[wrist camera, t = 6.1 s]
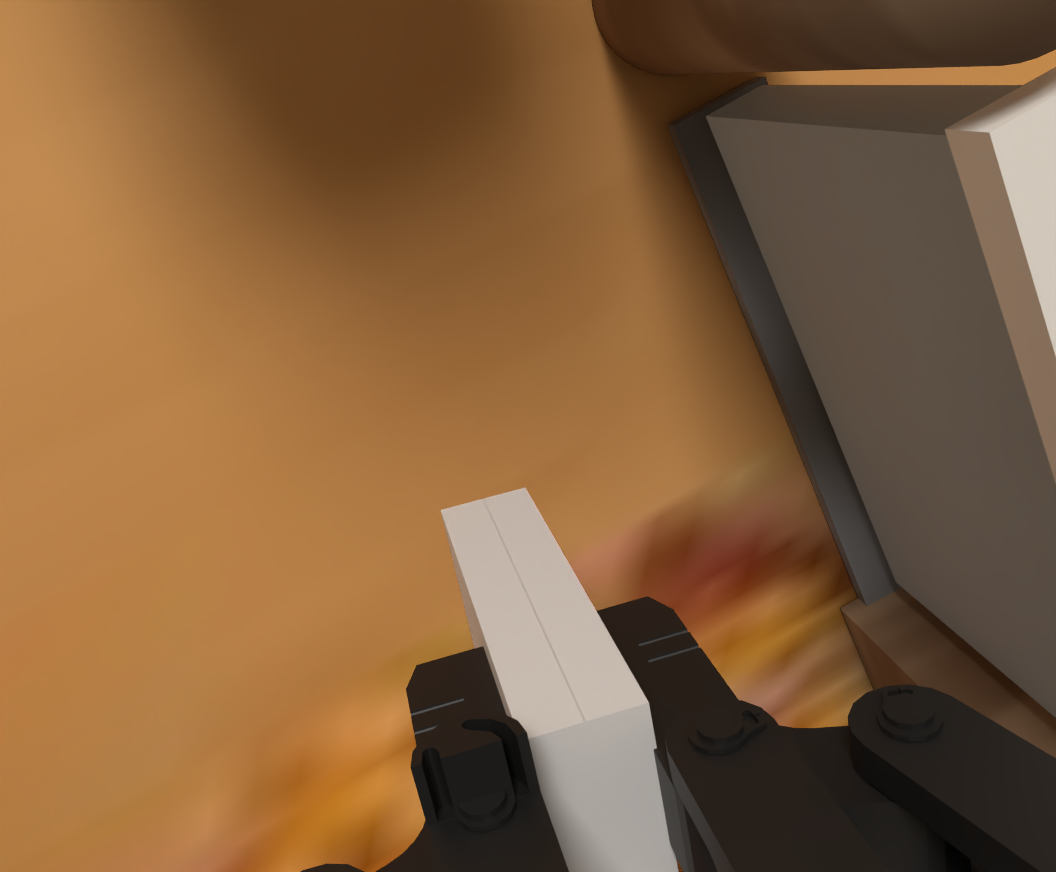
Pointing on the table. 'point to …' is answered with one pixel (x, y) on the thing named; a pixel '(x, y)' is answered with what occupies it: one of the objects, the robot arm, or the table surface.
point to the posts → (777, 46)
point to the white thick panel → (926, 327)
